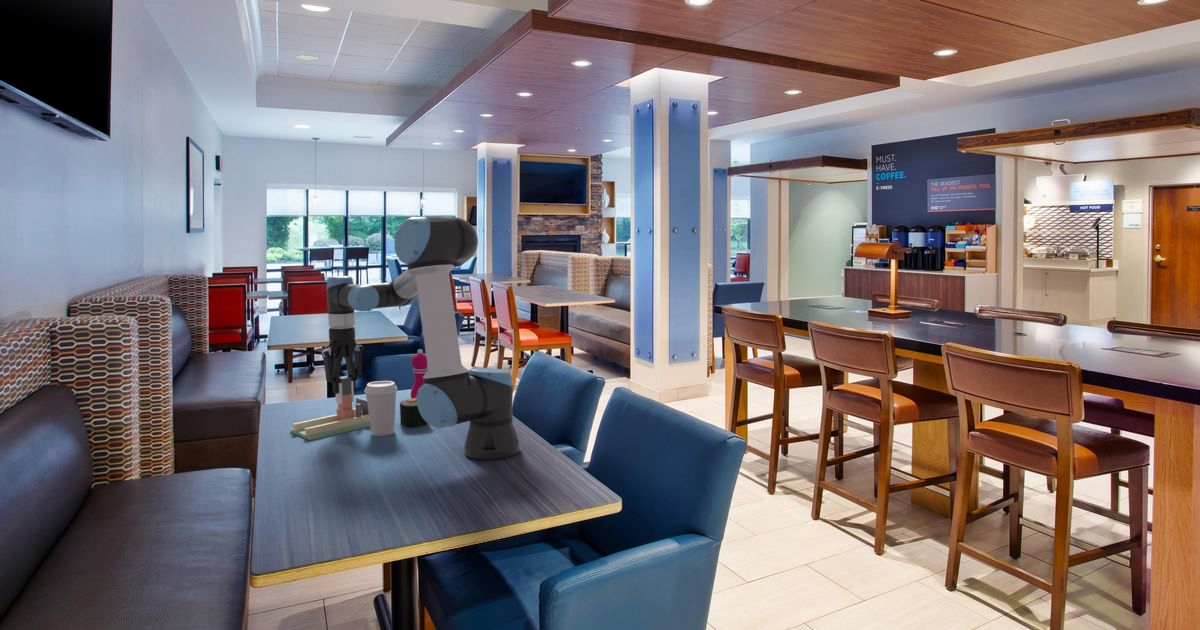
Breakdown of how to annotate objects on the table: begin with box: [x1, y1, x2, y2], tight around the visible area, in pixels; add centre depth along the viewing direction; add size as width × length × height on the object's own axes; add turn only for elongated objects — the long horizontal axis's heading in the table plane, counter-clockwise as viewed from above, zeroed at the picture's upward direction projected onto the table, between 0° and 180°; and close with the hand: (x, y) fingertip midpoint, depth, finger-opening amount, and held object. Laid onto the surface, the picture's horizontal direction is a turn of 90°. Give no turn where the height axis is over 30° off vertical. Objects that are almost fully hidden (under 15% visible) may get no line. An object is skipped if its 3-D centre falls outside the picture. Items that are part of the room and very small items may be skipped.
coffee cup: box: [363, 380, 399, 437], centre depth 213 cm, size 10×10×15 cm
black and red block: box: [336, 375, 354, 421], centre depth 220 cm, size 5×3×14 cm, turn 49°
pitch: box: [289, 397, 370, 441], centre depth 218 cm, size 12×22×7 cm, turn 139°
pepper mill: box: [410, 348, 428, 399], centre depth 243 cm, size 7×7×20 cm
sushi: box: [398, 397, 429, 429], centre depth 223 cm, size 8×8×8 cm
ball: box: [352, 407, 363, 417], centre depth 223 cm, size 4×4×4 cm
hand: (345, 402), depth 220 cm, fingers closed on black and red block, 3 cm apart
